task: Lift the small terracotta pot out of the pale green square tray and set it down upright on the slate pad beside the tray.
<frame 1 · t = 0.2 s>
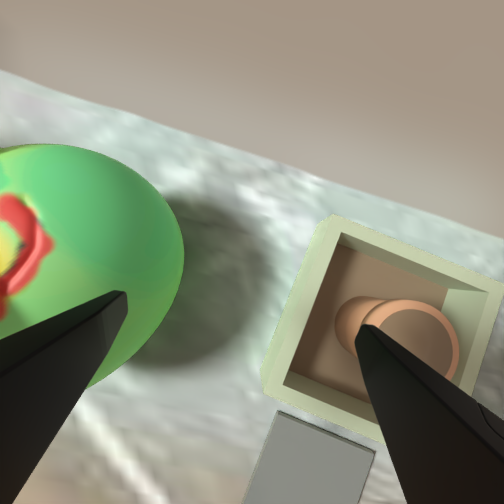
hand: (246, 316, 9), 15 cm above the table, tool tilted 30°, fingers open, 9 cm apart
slate pad: (305, 480, 22), on the table
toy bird: (112, 267, 24), on the table
terracotta pot: (364, 326, 23), resting on pale green square tray
pale green square tray: (361, 324, 24), on the table
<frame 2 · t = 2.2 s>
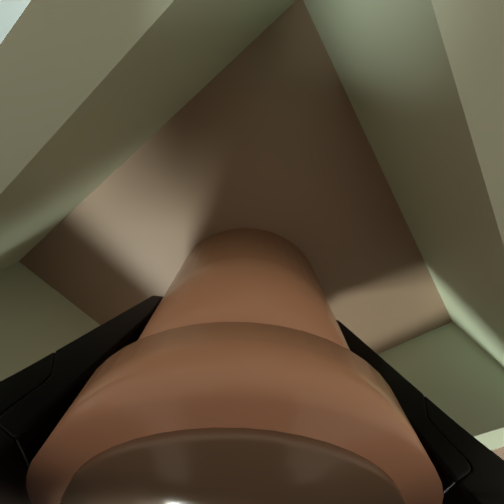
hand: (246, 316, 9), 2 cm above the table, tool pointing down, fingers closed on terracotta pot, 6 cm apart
terracotta pot: (247, 293, 10), resting on pale green square tray, touching gripper
pale green square tray: (247, 286, 11), on the table
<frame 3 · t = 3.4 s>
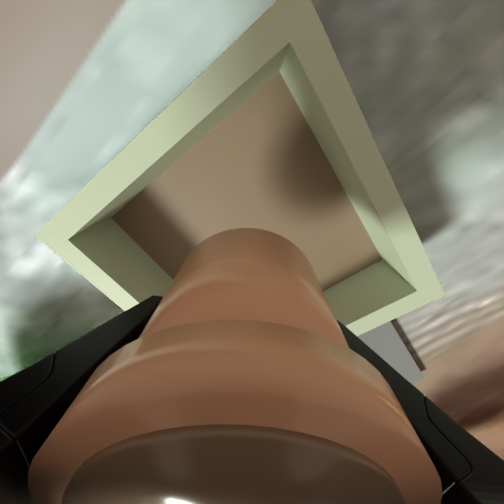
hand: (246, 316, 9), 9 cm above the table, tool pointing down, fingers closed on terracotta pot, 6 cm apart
slate pad: (350, 363, 22), on the table
terracotta pot: (247, 292, 10), point 7 cm above the table, touching gripper
pale green square tray: (251, 236, 17), on the table
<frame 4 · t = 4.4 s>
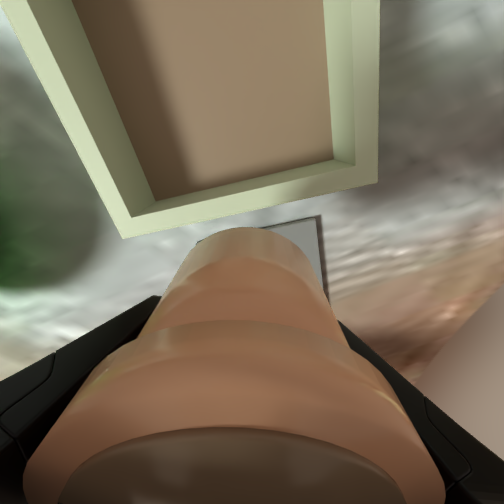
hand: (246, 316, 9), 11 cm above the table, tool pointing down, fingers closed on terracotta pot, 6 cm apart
slate pad: (265, 278, 22), on the table
terracotta pot: (246, 292, 10), point 10 cm above the table, touching gripper
pale green square tray: (215, 72, 15), on the table
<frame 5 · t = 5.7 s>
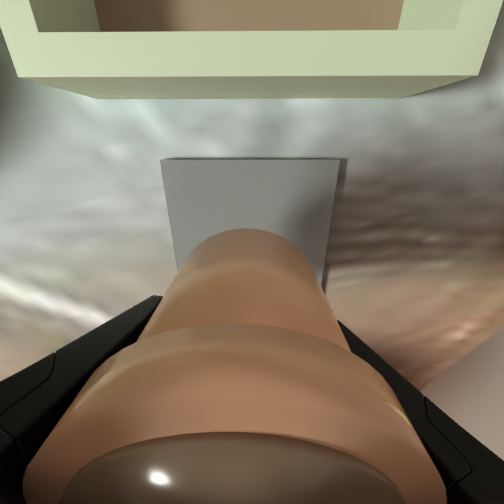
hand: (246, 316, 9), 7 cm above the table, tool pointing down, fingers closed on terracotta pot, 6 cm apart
slate pad: (250, 239, 16), on the table
terracotta pot: (247, 293, 10), point 6 cm above the table, touching gripper
when the fingers open (4 cm above the table, at t = 6.8 s): terracotta pot drops 2 cm, resting on slate pad.
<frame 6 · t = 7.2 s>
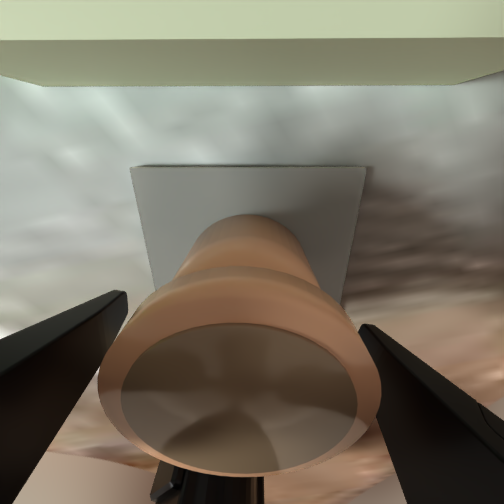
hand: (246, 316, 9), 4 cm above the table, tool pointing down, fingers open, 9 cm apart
slate pad: (248, 265, 12), on the table
terracotta pot: (247, 271, 12), point 1 cm above the table, touching slate pad
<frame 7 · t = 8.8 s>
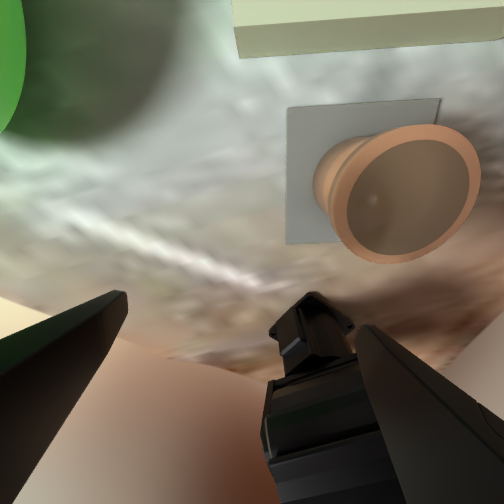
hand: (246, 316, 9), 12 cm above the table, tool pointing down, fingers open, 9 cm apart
slate pad: (350, 179, 18), on the table
terracotta pot: (352, 181, 18), point 1 cm above the table, touching slate pad
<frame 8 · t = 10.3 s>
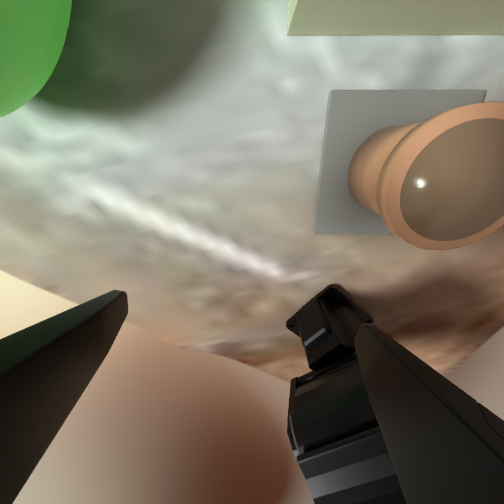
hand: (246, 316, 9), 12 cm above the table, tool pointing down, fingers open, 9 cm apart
slate pad: (385, 169, 18), on the table
terracotta pot: (388, 170, 17), point 1 cm above the table, touching slate pad
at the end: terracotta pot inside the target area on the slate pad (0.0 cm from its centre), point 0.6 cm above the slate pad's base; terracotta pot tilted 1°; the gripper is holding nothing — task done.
